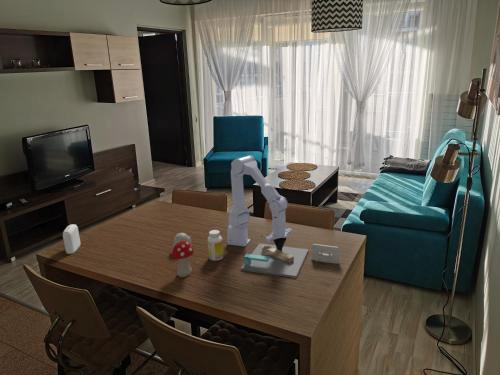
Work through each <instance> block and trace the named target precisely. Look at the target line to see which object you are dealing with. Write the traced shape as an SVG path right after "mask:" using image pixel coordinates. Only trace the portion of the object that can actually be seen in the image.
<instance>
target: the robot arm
mask: <svg viewBox="0 0 500 375" xmlns="http://www.w3.org/2000/svg"><path fill="white" fill-rule="evenodd" d="M230 165H231V167H230V168H231V170H230V181H231V183H230V184H231V194H232V195H231V196H232V206H233V207H232V208H231V209H230V211H229V213H228V214H229V217H228V224H229V225H228V227H227V232H226V233H227V245H228V246H229V245H230V246H237V247H238V246H239V247H246V246H247V245H248V244H249V242H250V241H251V238H248V225H249V222H250V220H251V215H250V213H249V209H248V207H246V206H245V205H246V204H245V192H244V175H248V176H251V177H252V179H253V180H254V181H255V182H256V184H257V185H258V186H259V187H260V189H261V191H260V192H261V194H262V195H263V197H264V198H265V200H266V201H267V202H268V203H269V210H270V212H271V215H272V218H271V219H272V232H271V233H270V234H269V235H268V236H266V237H265V242H266V243H269V244H270V243H271V242H272V241H273V242H274V245H276V248H277V249H278V250H280V251H282V248H283V246H284V245H285V242H286V241H287V237H288V235H289V234H293V229H292V228H286V209H287V208H288V207H289V202H288V199H287V198H286V197H284V196H282V194H281V195H280V194H279V192H278V191H277V190H276V187H275V186H274V185H273V184H272V183H268V182H267V180H266V178H265V177H264V175H263V174H262V172H261V170H260V169H259V168H258V162H257V160H255V157H254V156H252V155H249V154H248V155H247V156H246V155H245V156H243V157H239V158H235V159H234V160H232V162H231V163H230Z"/></svg>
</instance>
